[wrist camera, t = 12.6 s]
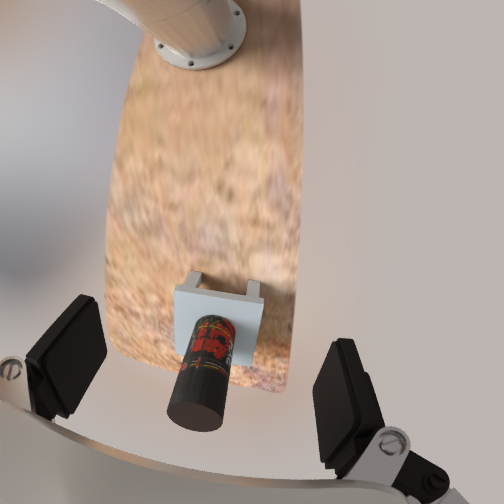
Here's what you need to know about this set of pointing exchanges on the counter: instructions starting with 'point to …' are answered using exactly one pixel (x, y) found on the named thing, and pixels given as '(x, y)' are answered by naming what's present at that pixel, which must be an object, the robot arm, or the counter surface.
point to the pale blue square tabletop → (222, 304)
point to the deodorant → (204, 376)
